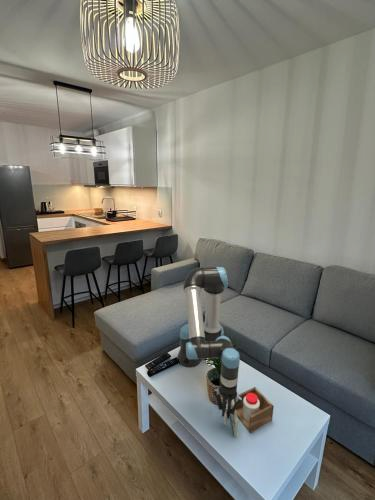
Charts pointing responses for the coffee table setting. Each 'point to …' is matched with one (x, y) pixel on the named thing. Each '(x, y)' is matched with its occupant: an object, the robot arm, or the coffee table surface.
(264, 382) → the coffee table surface
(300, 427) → the coffee table surface
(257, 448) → the coffee table surface
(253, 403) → the pill bottle
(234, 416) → the door
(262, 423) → the box
